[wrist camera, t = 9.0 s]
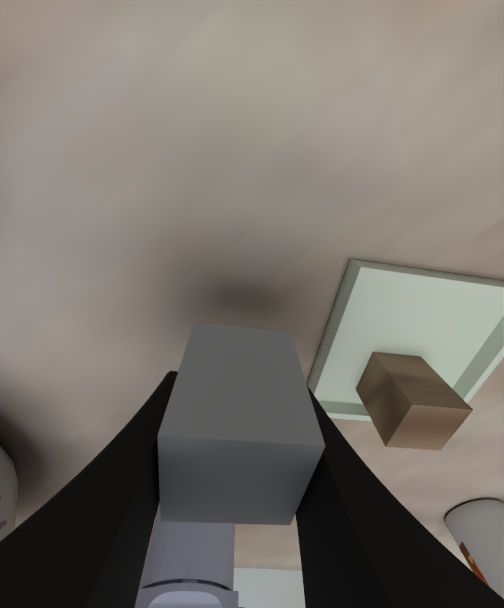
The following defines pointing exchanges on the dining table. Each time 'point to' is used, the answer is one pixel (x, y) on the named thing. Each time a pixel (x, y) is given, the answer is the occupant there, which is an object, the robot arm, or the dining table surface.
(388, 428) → the walnut block
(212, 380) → the grey block
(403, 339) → the tray
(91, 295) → the dining table surface
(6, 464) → the chamber pot
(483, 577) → the milk bottle
